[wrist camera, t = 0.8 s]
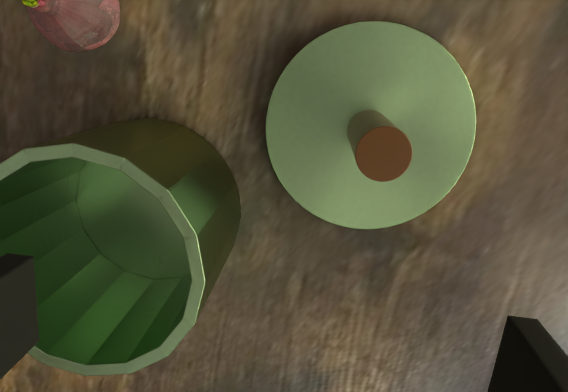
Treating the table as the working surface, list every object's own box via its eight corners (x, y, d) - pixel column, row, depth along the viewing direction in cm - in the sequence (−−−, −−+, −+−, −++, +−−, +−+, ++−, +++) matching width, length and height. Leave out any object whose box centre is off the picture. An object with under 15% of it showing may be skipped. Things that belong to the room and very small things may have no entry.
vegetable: (98, 69, 36) (16, 71, 27) (44, 0, 35) (-60, -23, 25) (156, 20, 35) (92, 4, 25) (103, -53, 34) (14, -99, 24)
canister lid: (298, -4, 33) (287, -32, 24) (504, 55, 33) (579, 52, 24) (246, 194, 38) (219, 239, 28) (428, 246, 38) (464, 310, 28)
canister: (84, 96, 37) (-32, 112, 25) (259, 147, 37) (229, 188, 25) (61, 257, 41) (-47, 338, 29) (218, 303, 41) (175, 402, 29)
